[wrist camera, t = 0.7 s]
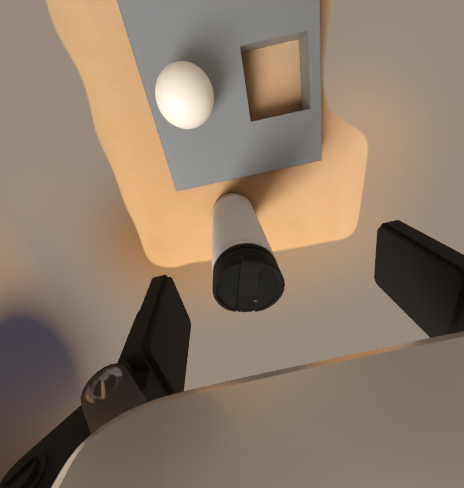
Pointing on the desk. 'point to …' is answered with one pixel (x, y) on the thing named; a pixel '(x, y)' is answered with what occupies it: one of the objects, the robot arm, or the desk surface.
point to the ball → (184, 95)
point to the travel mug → (242, 258)
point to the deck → (228, 82)
